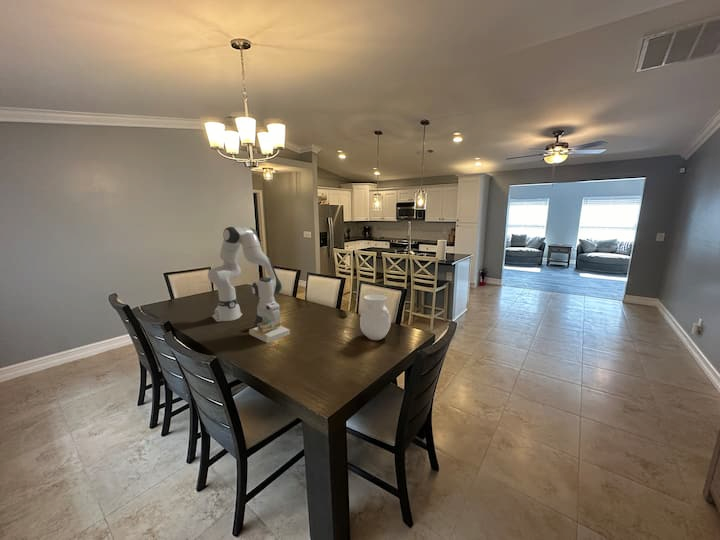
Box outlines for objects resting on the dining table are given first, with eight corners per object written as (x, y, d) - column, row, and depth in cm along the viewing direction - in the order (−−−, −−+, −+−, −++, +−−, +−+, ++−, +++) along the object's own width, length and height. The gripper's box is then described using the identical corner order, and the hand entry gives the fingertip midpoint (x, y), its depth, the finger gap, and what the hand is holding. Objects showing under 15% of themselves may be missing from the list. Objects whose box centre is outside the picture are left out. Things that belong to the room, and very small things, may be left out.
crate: (264, 322, 176) (263, 316, 175) (269, 320, 179) (269, 314, 178) (267, 323, 174) (267, 317, 173) (273, 321, 177) (272, 315, 176)
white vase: (374, 328, 185) (374, 291, 180) (397, 336, 172) (397, 296, 167) (353, 337, 172) (352, 297, 167) (376, 346, 159) (376, 303, 154)
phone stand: (258, 329, 185) (256, 312, 183) (254, 327, 189) (252, 310, 187) (270, 325, 191) (269, 308, 189) (266, 323, 196) (265, 307, 193)
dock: (249, 334, 178) (249, 329, 178) (271, 326, 190) (271, 321, 190) (267, 342, 165) (266, 337, 165) (290, 334, 177) (289, 329, 177)
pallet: (257, 330, 175) (257, 323, 174) (274, 324, 184) (274, 318, 183) (263, 332, 171) (262, 326, 170) (280, 326, 180) (279, 320, 179)
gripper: (253, 302, 178) (255, 322, 181) (272, 308, 165) (273, 330, 168) (262, 299, 183) (264, 320, 186) (281, 305, 170) (282, 327, 173)
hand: (269, 325), depth 177 cm, fingers closed on pallet, 6 cm apart
